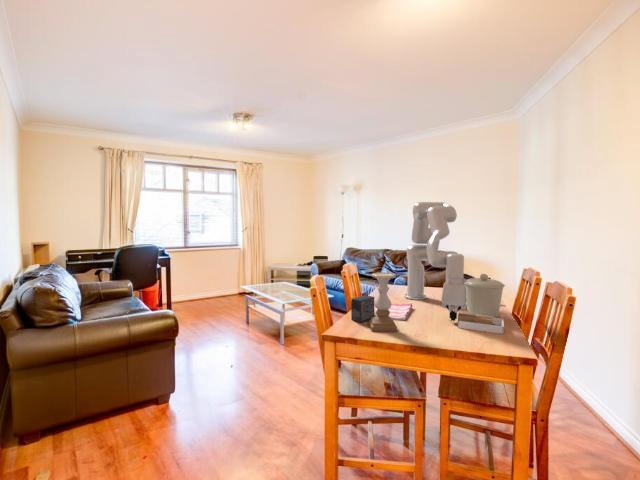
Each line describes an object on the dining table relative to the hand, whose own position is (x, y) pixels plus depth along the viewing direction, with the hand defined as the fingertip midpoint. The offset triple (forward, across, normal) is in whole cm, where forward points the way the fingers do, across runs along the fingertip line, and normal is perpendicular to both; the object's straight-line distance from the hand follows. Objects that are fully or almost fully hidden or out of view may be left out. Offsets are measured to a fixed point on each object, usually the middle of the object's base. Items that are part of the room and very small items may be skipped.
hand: (453, 319), depth 162 cm
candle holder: (+2, +27, +21) cm, 34 cm away
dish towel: (+2, +29, -4) cm, 30 cm away
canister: (+2, -12, -17) cm, 21 cm away
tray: (+1, -11, 0) cm, 11 cm away
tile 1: (+1, -6, 0) cm, 6 cm away
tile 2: (+2, -13, 0) cm, 13 cm away
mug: (+2, -6, -49) cm, 49 cm away
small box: (+2, +39, +13) cm, 41 cm away
